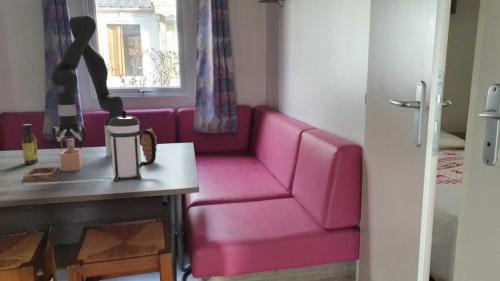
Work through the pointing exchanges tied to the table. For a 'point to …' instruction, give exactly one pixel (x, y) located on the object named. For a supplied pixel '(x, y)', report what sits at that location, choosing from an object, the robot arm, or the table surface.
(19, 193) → the table surface
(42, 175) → the tray
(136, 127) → the coffee press
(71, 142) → the dowel
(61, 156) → the pink open box
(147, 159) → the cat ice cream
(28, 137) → the sauce bottle
